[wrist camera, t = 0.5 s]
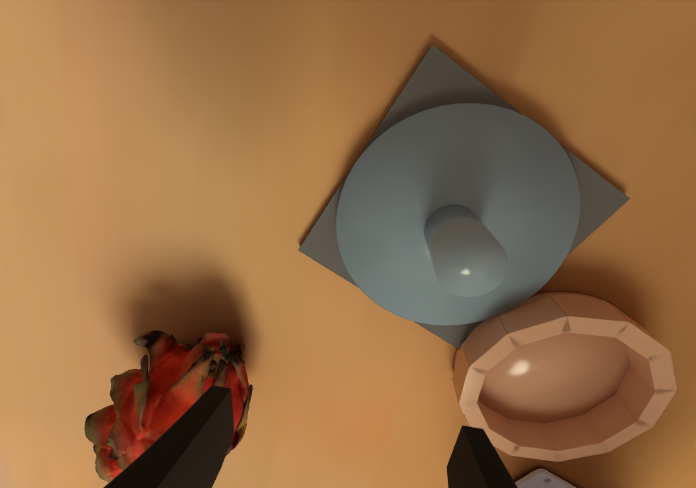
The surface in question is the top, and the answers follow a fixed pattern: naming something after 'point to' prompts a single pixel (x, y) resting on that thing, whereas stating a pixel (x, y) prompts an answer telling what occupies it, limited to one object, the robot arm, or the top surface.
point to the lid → (458, 214)
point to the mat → (443, 89)
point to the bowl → (562, 377)
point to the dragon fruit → (165, 396)
